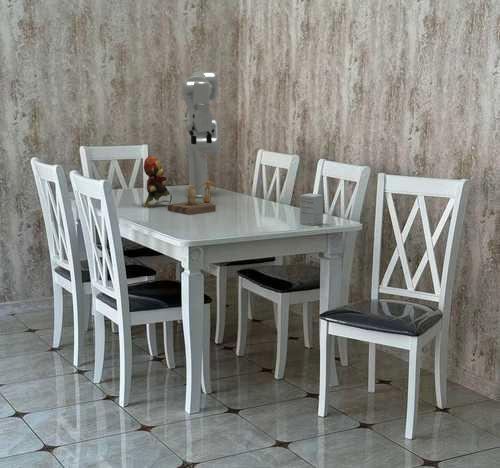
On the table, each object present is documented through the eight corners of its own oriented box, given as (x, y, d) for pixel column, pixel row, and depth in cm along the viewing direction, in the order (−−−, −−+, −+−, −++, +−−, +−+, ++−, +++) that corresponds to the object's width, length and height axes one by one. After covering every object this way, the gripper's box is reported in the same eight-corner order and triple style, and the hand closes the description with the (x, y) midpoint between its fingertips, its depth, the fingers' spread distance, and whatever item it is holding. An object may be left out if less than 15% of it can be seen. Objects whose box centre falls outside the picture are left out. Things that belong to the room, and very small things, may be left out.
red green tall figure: (151, 206, 389) (142, 154, 389) (137, 210, 403) (129, 160, 403) (179, 202, 396) (171, 151, 396) (165, 206, 411) (157, 157, 411)
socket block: (167, 210, 387) (167, 204, 386) (193, 207, 398) (193, 201, 397) (189, 214, 376) (189, 208, 375) (215, 211, 387) (215, 204, 386)
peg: (186, 210, 387) (186, 185, 385) (192, 210, 389) (192, 184, 387) (191, 211, 384) (191, 186, 382) (197, 210, 387) (197, 185, 385)
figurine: (213, 201, 416) (213, 178, 414) (217, 203, 410) (217, 179, 408) (197, 202, 413) (197, 178, 411) (200, 204, 408) (200, 180, 405)
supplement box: (309, 221, 360) (309, 193, 357) (323, 223, 355) (323, 194, 353) (299, 223, 354) (299, 194, 352) (313, 225, 350) (313, 196, 347)
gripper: (192, 108, 385) (192, 145, 389) (219, 107, 397) (220, 143, 400) (182, 108, 391) (182, 144, 394) (209, 107, 402) (209, 142, 406)
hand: (201, 143), depth 397 cm, fingers open, 9 cm apart
